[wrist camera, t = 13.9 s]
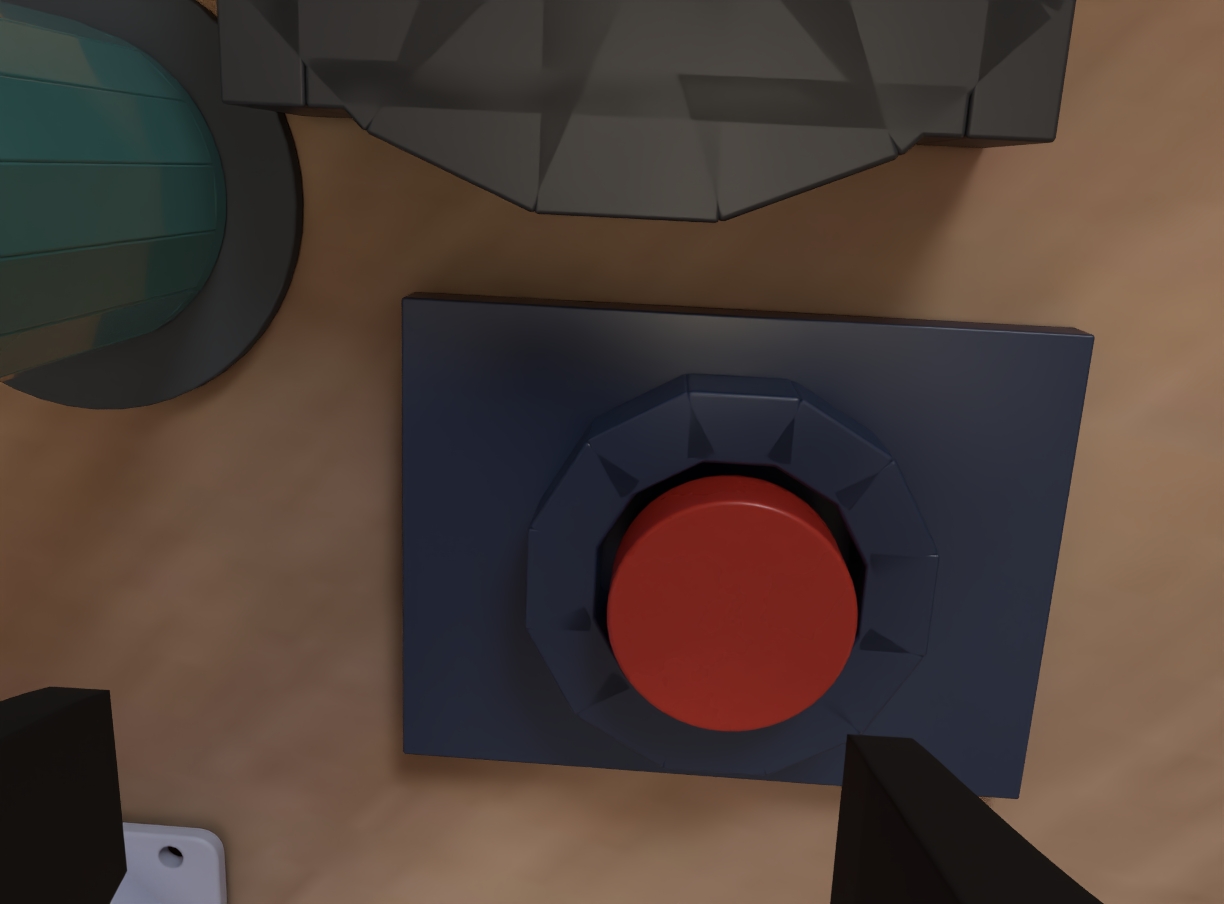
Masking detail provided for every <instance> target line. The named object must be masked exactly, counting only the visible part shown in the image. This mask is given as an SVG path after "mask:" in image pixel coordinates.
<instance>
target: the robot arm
mask: <svg viewBox="0 0 1224 904" xmlns="http://www.w3.org/2000/svg"><path fill="white" fill-rule="evenodd" d="M168 846H171V847H175V848H177V849H178V850H179V851H180V852H181V853H182V856H181V857H180V856H177V855H174V854H173V853H171V852H170V851H169V849H168ZM0 904H227V890H226V871H225V852H224V847H223V844H222V842H221V840H220V839H219V838H218V836H217V835H215V834H214V833H212V832H211V831H209V830H205V829H201V828H191V827H178V826H165V825H152V824H139V823H126V822H122V812H121V801H120V791H119V781H118V771H117V761H116V750H115V740H114V730H113V720H112V710H111V699H110V690H98V689H81V688H65V687H47V688H43V689H39V690H35V691H32V692H28V693H24V694H21V695H18V696H15V697H12V698H9V699H6V700H3V701H0ZM830 904H1103V903H1102V902H1101V901H1099V900H1098V899H1097V898H1096V897H1094V896H1093V895H1092V894H1090V893H1089V892H1088V891H1087V890H1085V889H1084V888H1083V887H1082V886H1080V885H1079V884H1078V883H1077V882H1076V881H1074V880H1073V879H1072V878H1071V877H1069V876H1068V875H1067V874H1066V873H1065V872H1063V871H1062V870H1061V869H1060V868H1059V867H1057V866H1056V865H1055V864H1054V863H1053V862H1051V861H1050V860H1049V859H1048V858H1047V857H1046V856H1044V855H1043V854H1042V853H1041V852H1040V851H1038V850H1037V849H1036V848H1035V847H1034V846H1033V845H1032V844H1030V843H1029V842H1028V841H1027V840H1026V839H1025V838H1024V837H1022V836H1021V835H1020V834H1019V833H1018V832H1017V831H1016V830H1014V829H1013V828H1012V827H1011V826H1010V825H1009V824H1008V823H1007V822H1005V821H1004V820H1003V819H1002V818H1001V817H1000V816H999V815H998V814H996V813H995V812H994V811H993V810H992V809H991V808H990V807H989V806H988V805H987V804H985V803H984V802H983V801H982V800H981V799H980V798H979V797H978V796H977V795H976V794H975V793H973V792H972V791H971V790H970V789H969V788H968V787H967V786H966V785H965V784H964V783H963V782H961V781H960V780H959V779H958V778H957V777H956V776H955V775H954V774H953V773H952V772H951V771H949V770H948V769H947V768H946V767H945V766H944V765H943V764H942V763H941V762H940V761H939V760H937V759H936V758H935V757H934V756H933V755H932V754H931V753H930V752H928V751H927V750H926V749H925V748H924V747H923V746H922V745H920V744H919V743H918V742H917V741H915V740H914V739H913V738H903V737H886V736H870V735H853V734H847V741H846V751H845V761H844V771H843V781H842V791H841V801H840V811H839V821H838V831H837V841H836V851H835V861H834V871H833V881H832V891H831V901H830Z"/></svg>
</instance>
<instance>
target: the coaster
mask: <svg viewBox="0 0 1224 904" xmlns="http://www.w3.org/2000/svg"><path fill="white" fill-rule="evenodd" d="M0 1H1V2H5V3H9V4H13V5H17V6H21V7H25V8H29V9H33V10H37V11H41V12H45V13H49V14H53V15H57V16H61V17H65V18H69V19H73V20H76V21H79V22H81V23H83V24H85V25H87V26H89V27H92V28H96V29H99V30H102V31H105V32H107V33H110V34H112V35H115V36H117V37H120V38H122V39H123V40H125V41H127V42H129V43H131V44H132V45H134V46H136V47H138V48H139V49H141V50H142V51H144V52H145V53H146V54H148V55H149V56H150V57H152V58H153V59H154V60H156V61H157V62H158V63H159V64H161V65H162V66H163V67H164V68H165V69H166V70H167V71H168V72H169V73H170V74H171V75H172V76H173V77H174V78H175V79H176V80H177V81H178V82H179V84H180V85H181V86H182V87H183V88H184V90H185V91H186V92H187V93H188V94H189V96H190V97H191V99H192V100H193V102H194V103H195V105H196V106H197V108H198V109H199V111H200V113H201V114H202V116H203V118H204V120H205V122H206V124H207V126H208V128H209V130H210V132H211V134H212V137H213V140H214V142H215V145H216V148H217V151H218V153H219V157H220V161H221V166H222V170H223V174H224V181H225V190H226V221H225V228H224V235H223V240H222V244H221V247H220V251H219V254H218V258H217V260H216V262H215V265H214V267H213V269H212V271H211V274H210V276H209V278H208V279H207V281H206V282H205V284H204V286H203V287H202V289H201V291H200V292H199V293H198V295H197V296H196V297H195V298H194V299H193V300H192V302H191V303H190V304H189V305H188V306H187V307H186V308H185V309H184V310H183V311H182V312H181V313H180V314H178V315H177V316H176V317H175V318H174V319H173V320H171V321H170V322H168V323H167V324H165V325H163V326H162V327H160V328H159V329H157V330H155V331H153V332H151V333H149V334H146V335H144V336H142V337H139V338H136V339H133V340H130V341H127V342H124V343H121V344H119V345H116V346H113V347H111V348H108V349H105V350H102V351H99V352H96V353H93V354H90V355H86V356H83V357H80V358H77V359H74V360H70V361H67V362H64V363H61V364H57V365H54V366H51V367H48V368H45V369H41V370H38V371H35V372H32V373H28V374H25V375H22V376H19V377H16V378H12V379H9V380H6V381H3V383H5V384H7V385H8V386H10V387H12V388H14V389H17V390H19V391H22V392H24V393H27V394H29V395H32V396H35V397H37V398H40V399H43V400H47V401H51V402H55V403H59V404H63V405H67V406H73V407H81V408H89V409H127V408H134V407H141V406H148V405H152V404H155V403H159V402H162V401H166V400H169V399H173V398H175V397H177V396H180V395H182V394H184V393H186V392H189V391H191V390H193V389H195V388H198V387H200V386H202V385H204V384H206V383H207V382H209V381H211V380H212V379H214V378H215V377H217V376H218V375H220V374H222V373H223V372H225V371H226V370H227V369H229V368H230V367H231V366H232V365H233V364H234V363H236V362H237V361H238V360H239V359H240V358H241V357H243V356H244V355H245V354H246V353H247V352H248V351H249V349H250V348H251V347H252V346H253V345H254V344H255V343H256V341H257V340H258V339H259V338H260V337H261V336H262V335H263V333H264V332H265V330H266V329H267V327H268V325H269V324H270V322H271V321H272V319H273V318H274V316H275V315H276V313H277V312H278V309H279V307H280V305H281V303H282V301H283V299H284V296H285V294H286V292H287V290H288V288H289V285H290V282H291V278H292V275H293V272H294V269H295V265H296V262H297V258H298V252H299V246H300V240H301V234H302V213H303V199H302V187H301V176H300V170H299V165H298V160H297V156H296V151H295V146H294V142H293V139H292V136H291V133H290V130H289V127H288V125H287V122H286V119H285V116H284V113H282V112H275V111H268V110H262V109H255V108H248V107H242V106H235V105H229V104H224V103H222V100H221V85H220V63H219V40H218V19H217V18H216V17H215V16H214V15H213V14H212V13H211V12H210V11H209V10H208V9H206V8H205V7H204V6H202V5H201V4H200V3H198V2H197V1H196V0H0Z"/></svg>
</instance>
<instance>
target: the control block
mask: <svg viewBox="0 0 1224 904" xmlns="http://www.w3.org/2000/svg"><path fill="white" fill-rule="evenodd" d="M1093 344H1094V335H1092V334H1089V333H1086V332H1084V331H1081V330H1079V329H1076V328H1065V327H1046V326H1028V325H1009V324H991V323H973V322H954V321H936V320H918V319H899V318H881V317H862V316H844V315H826V314H807V313H789V312H771V311H752V310H734V309H716V308H697V307H679V306H660V305H642V304H624V303H605V302H587V301H569V300H550V299H532V298H513V297H495V296H477V295H458V294H440V293H422V292H414V293H412V294H410V295H407V296H405V297H403V298H402V550H403V752H404V753H405V754H417V755H430V756H444V757H457V758H471V759H484V760H498V761H511V762H525V763H538V764H552V765H565V766H579V767H592V768H606V769H619V770H632V771H646V772H659V773H673V774H686V775H700V776H713V777H727V778H740V779H754V780H767V781H781V782H794V783H808V784H821V785H835V786H842V781H843V771H844V761H845V751H846V741H847V734H853V735H870V736H886V737H903V738H913V739H914V740H915V741H917V742H918V743H919V744H920V745H922V746H923V747H924V748H925V749H926V750H927V751H928V752H930V753H931V754H932V755H933V756H934V757H935V758H936V759H937V760H939V761H940V762H941V763H942V764H943V765H944V766H945V767H946V768H947V769H948V770H949V771H951V772H952V773H953V774H954V775H955V776H956V777H957V778H958V779H959V780H960V781H961V782H963V783H964V784H965V785H966V786H967V787H968V788H969V789H970V790H971V791H972V792H973V793H975V794H976V795H977V796H983V797H996V798H1010V799H1018V798H1019V793H1020V787H1021V781H1022V775H1023V769H1024V763H1025V757H1026V751H1027V745H1028V739H1029V733H1030V727H1031V721H1032V714H1033V708H1034V702H1035V696H1036V690H1037V684H1038V678H1039V672H1040V666H1041V660H1042V654H1043V648H1044V642H1045V636H1046V629H1047V623H1048V617H1049V611H1050V605H1051V599H1052V593H1053V587H1054V581H1055V575H1056V569H1057V563H1058V557H1059V551H1060V544H1061V538H1062V532H1063V526H1064V520H1065V514H1066V508H1067V502H1068V496H1069V490H1070V484H1071V478H1072V472H1073V465H1074V459H1075V453H1076V447H1077V441H1078V435H1079V429H1080V423H1081V417H1082V411H1083V405H1084V399H1085V393H1086V387H1087V380H1088V374H1089V368H1090V362H1091V356H1092V350H1093ZM717 475H740V476H748V477H754V478H758V479H762V480H766V481H769V482H771V483H774V484H776V485H779V486H781V487H783V488H785V489H787V490H788V491H790V492H792V493H794V494H795V495H797V496H798V497H799V498H801V499H802V500H804V501H805V502H806V503H807V504H808V505H809V506H811V507H812V508H813V509H814V510H815V511H816V512H817V513H818V514H819V516H820V517H821V518H822V520H823V521H824V522H825V523H826V525H827V526H828V528H829V530H830V531H831V533H832V535H833V537H834V538H835V541H836V543H837V545H838V548H839V550H840V552H841V555H842V557H843V559H844V562H845V564H846V566H847V569H848V571H849V574H850V576H851V579H852V581H853V585H854V589H855V593H856V598H857V608H858V619H857V630H856V636H855V641H854V644H853V647H852V650H851V653H850V656H849V658H848V660H847V662H846V664H845V666H844V668H843V670H842V672H841V673H840V675H839V676H838V678H837V679H836V681H835V682H834V683H833V685H832V686H831V687H830V688H829V689H828V690H827V691H826V692H825V693H824V695H823V696H821V697H820V698H819V699H818V700H817V701H816V702H815V703H813V704H812V705H811V706H810V707H808V708H806V709H805V710H803V711H802V712H800V713H799V714H797V715H795V716H793V717H791V718H789V719H787V720H785V721H783V722H780V723H777V724H774V725H772V726H768V727H764V728H760V729H755V730H747V731H717V730H709V729H704V728H700V727H696V726H692V725H689V724H687V723H684V722H682V721H679V720H677V719H675V718H673V717H671V716H669V715H667V714H665V713H663V712H662V711H661V710H659V709H658V708H656V707H655V706H653V705H652V704H651V703H649V702H648V701H647V700H646V699H645V698H644V697H643V696H642V695H641V694H639V693H638V692H637V690H636V689H635V688H634V687H633V686H632V684H631V683H630V682H629V681H628V679H627V678H626V676H625V675H624V673H623V672H622V670H621V669H620V667H619V664H618V662H617V660H616V658H615V656H614V654H613V650H612V647H611V644H610V641H609V635H608V629H607V602H608V594H609V588H610V582H611V576H612V569H613V564H614V560H615V556H616V553H617V550H618V547H619V545H620V542H621V540H622V538H623V536H624V534H625V533H626V531H627V529H628V528H629V526H630V524H631V523H632V522H633V521H634V519H635V518H636V517H637V516H638V514H639V513H640V512H641V511H642V510H643V509H644V508H645V507H646V506H647V505H648V504H649V503H651V502H652V501H653V500H655V499H656V498H657V497H659V496H660V495H662V494H663V493H665V492H667V491H669V490H670V489H672V488H674V487H676V486H678V485H681V484H683V483H686V482H688V481H692V480H695V479H699V478H703V477H709V476H717Z"/></svg>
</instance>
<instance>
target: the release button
mask: <svg viewBox="0 0 1224 904" xmlns="http://www.w3.org/2000/svg"><path fill="white" fill-rule="evenodd" d="M857 619H858V608H857V598H856V593H855V589H854V585H853V581H852V579H851V576H850V574H849V571H848V569H847V566H846V564H845V562H844V559H843V557H842V555H841V552H840V550H839V548H838V545H837V543H836V541H835V538H834V537H833V535H832V533H831V531H830V530H829V528H828V526H827V525H826V523H825V522H824V521H823V520H822V518H821V517H820V516H819V514H818V513H817V512H816V511H815V510H814V509H813V508H812V507H811V506H809V505H808V504H807V503H806V502H805V501H804V500H802V499H801V498H799V497H798V496H797V495H795V494H794V493H792V492H790V491H788V490H787V489H785V488H783V487H781V486H779V485H776V484H774V483H771V482H769V481H766V480H762V479H758V478H754V477H748V476H740V475H717V476H709V477H703V478H699V479H695V480H692V481H688V482H686V483H683V484H681V485H678V486H676V487H674V488H672V489H670V490H669V491H667V492H665V493H663V494H662V495H660V496H659V497H657V498H656V499H655V500H653V501H652V502H651V503H649V504H648V505H647V506H646V507H645V508H644V509H643V510H642V511H641V512H640V513H639V514H638V516H637V517H636V518H635V519H634V521H633V522H632V523H631V524H630V526H629V528H628V529H627V531H626V533H625V534H624V536H623V538H622V540H621V542H620V545H619V547H618V550H617V553H616V556H615V560H614V564H613V569H612V576H611V582H610V588H609V594H608V602H607V629H608V635H609V641H610V644H611V647H612V650H613V654H614V656H615V658H616V660H617V662H618V664H619V667H620V669H621V670H622V672H623V673H624V675H625V676H626V678H627V679H628V681H629V682H630V683H631V684H632V686H633V687H634V688H635V689H636V690H637V692H638V693H639V694H641V695H642V696H643V697H644V698H645V699H646V700H647V701H648V702H649V703H651V704H652V705H653V706H655V707H656V708H658V709H659V710H661V711H662V712H663V713H665V714H667V715H669V716H671V717H673V718H675V719H677V720H679V721H682V722H684V723H687V724H689V725H692V726H696V727H700V728H704V729H709V730H717V731H747V730H755V729H760V728H764V727H768V726H772V725H774V724H777V723H780V722H783V721H785V720H787V719H789V718H791V717H793V716H795V715H797V714H799V713H800V712H802V711H803V710H805V709H806V708H808V707H810V706H811V705H812V704H813V703H815V702H816V701H817V700H818V699H819V698H820V697H821V696H823V695H824V693H825V692H826V691H827V690H828V689H829V688H830V687H831V686H832V685H833V683H834V682H835V681H836V679H837V678H838V676H839V675H840V673H841V672H842V670H843V668H844V666H845V664H846V662H847V660H848V658H849V656H850V653H851V650H852V647H853V644H854V641H855V636H856V630H857Z"/></svg>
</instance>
